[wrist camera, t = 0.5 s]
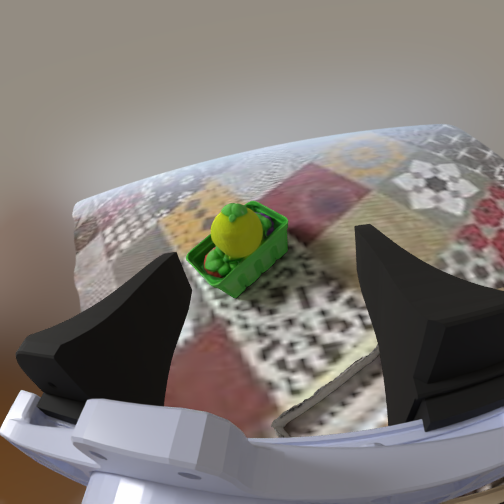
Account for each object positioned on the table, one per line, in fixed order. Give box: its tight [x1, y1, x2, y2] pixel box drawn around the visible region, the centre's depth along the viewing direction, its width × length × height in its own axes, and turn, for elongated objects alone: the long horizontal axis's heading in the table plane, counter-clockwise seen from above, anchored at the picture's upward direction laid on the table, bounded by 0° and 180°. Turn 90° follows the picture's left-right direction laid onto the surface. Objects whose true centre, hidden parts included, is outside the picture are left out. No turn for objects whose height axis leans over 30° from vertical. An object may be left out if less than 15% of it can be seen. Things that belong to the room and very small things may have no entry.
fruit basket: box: [186, 201, 288, 298], centre depth 35 cm, size 11×9×11 cm
